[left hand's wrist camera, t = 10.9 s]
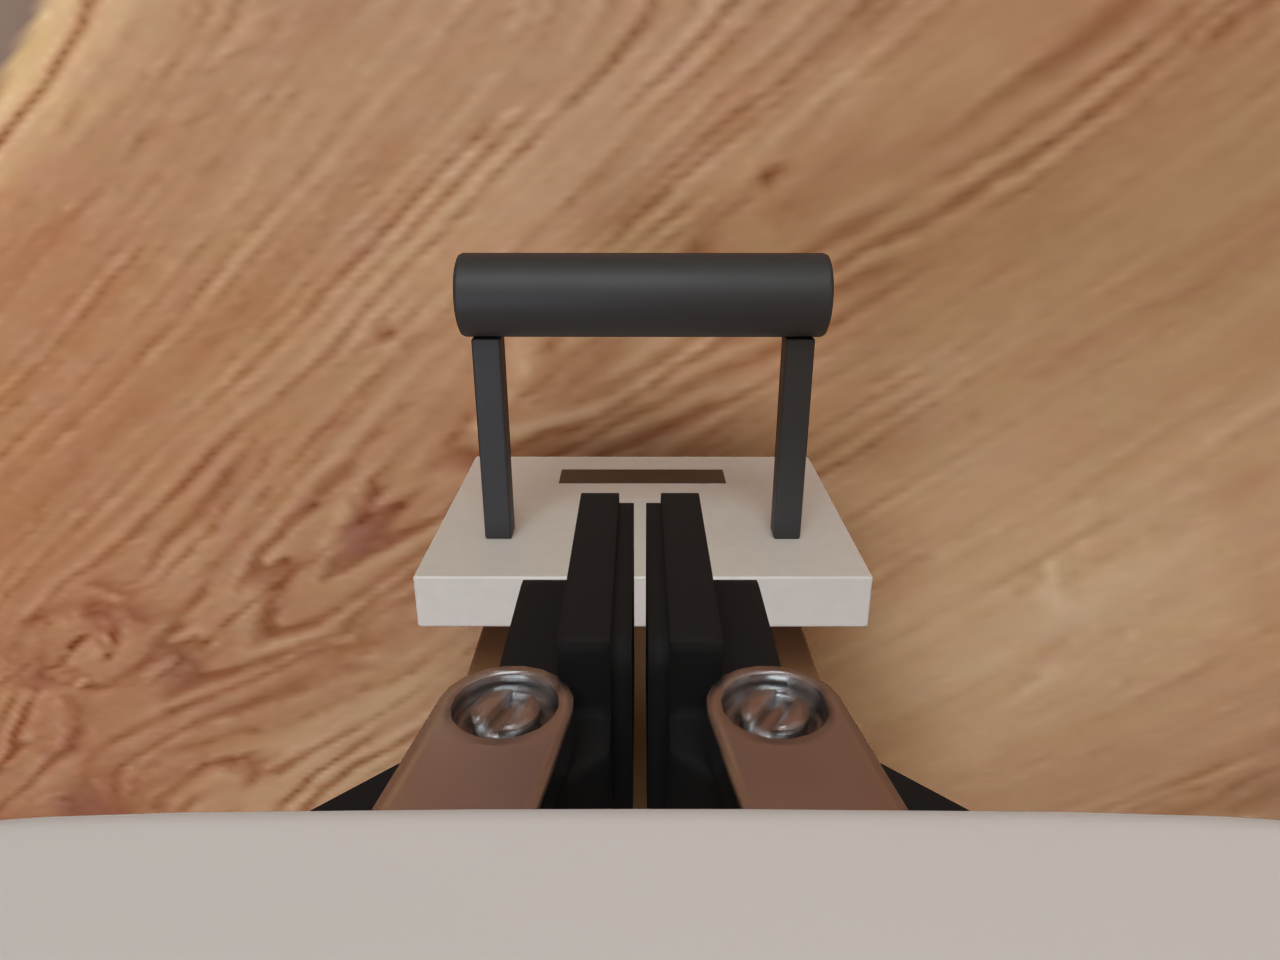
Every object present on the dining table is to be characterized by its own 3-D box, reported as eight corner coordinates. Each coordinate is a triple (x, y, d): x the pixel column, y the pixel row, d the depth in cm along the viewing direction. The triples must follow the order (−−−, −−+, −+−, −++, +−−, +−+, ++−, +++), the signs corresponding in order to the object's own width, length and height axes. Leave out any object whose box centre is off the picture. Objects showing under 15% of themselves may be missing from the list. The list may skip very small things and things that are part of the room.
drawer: (459, 228, 22) (379, 267, 15) (826, 229, 22) (908, 267, 15) (502, 830, 30) (461, 1038, 23) (780, 830, 30) (822, 1038, 23)
